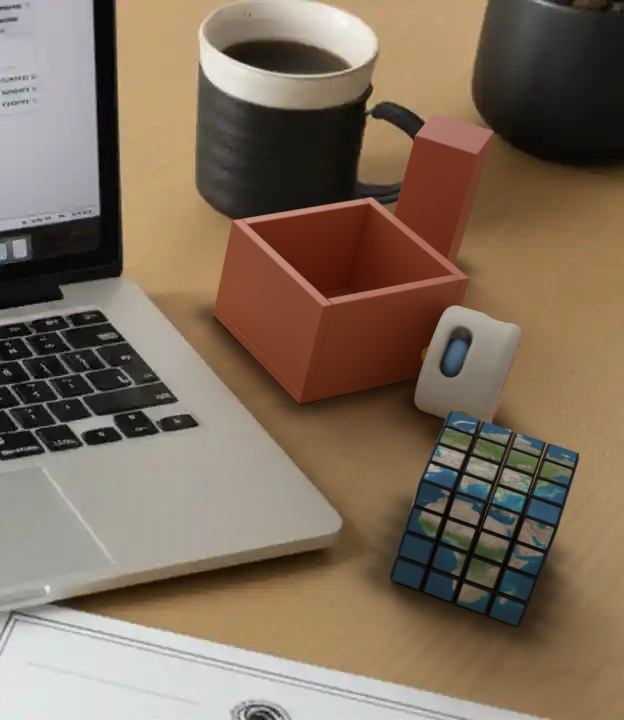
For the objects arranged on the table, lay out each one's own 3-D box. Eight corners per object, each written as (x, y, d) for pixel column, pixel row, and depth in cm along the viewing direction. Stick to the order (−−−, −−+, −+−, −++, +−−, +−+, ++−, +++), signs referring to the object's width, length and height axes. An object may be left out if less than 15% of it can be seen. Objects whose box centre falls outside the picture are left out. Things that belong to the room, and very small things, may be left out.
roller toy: (393, 427, 85) (420, 334, 82) (423, 367, 90) (450, 277, 86) (478, 457, 84) (509, 363, 80) (504, 394, 88) (535, 303, 85)
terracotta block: (397, 246, 100) (433, 112, 95) (454, 265, 99) (495, 131, 94) (378, 271, 98) (414, 135, 92) (437, 291, 96) (477, 154, 91)
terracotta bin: (348, 288, 96) (372, 196, 92) (440, 373, 89) (470, 278, 86) (212, 314, 92) (231, 219, 89) (299, 404, 86) (323, 306, 82)
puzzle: (519, 629, 73) (558, 526, 70) (388, 580, 75) (419, 478, 72) (543, 551, 78) (581, 451, 75) (419, 507, 80) (450, 408, 76)
